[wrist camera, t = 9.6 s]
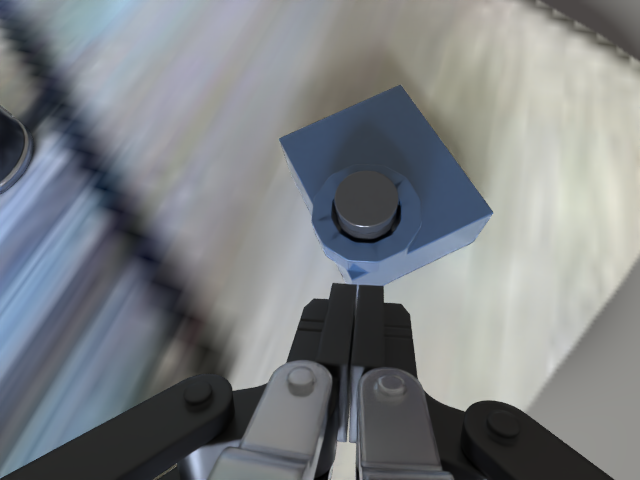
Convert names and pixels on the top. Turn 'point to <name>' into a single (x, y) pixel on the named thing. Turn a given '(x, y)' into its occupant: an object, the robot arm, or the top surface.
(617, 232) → the top surface
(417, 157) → the blue square base
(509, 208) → the top surface
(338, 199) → the button
